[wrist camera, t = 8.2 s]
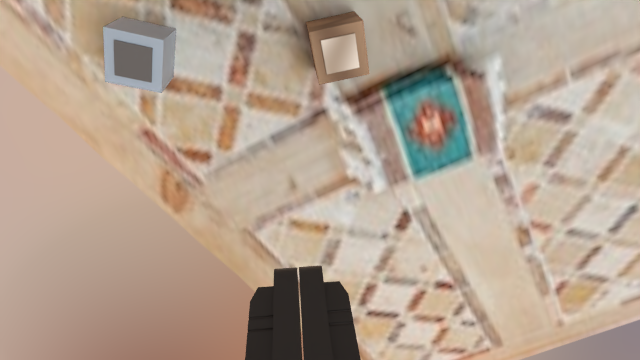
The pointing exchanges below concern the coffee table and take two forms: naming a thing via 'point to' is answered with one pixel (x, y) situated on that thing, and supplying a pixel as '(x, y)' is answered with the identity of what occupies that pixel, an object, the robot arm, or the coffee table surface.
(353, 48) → the walnut block
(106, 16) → the coffee table surface
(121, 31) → the slate-blue block
